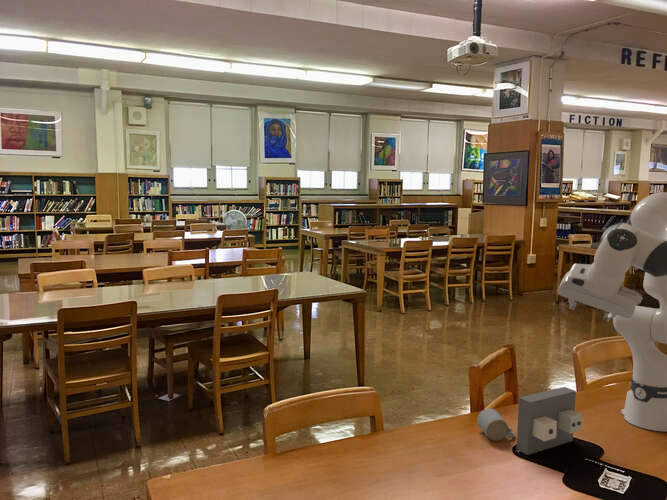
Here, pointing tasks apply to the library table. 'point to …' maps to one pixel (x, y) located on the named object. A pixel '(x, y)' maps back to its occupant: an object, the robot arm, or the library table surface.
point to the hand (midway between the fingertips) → (588, 313)
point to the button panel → (543, 406)
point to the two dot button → (569, 421)
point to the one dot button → (544, 428)
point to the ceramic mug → (494, 425)
